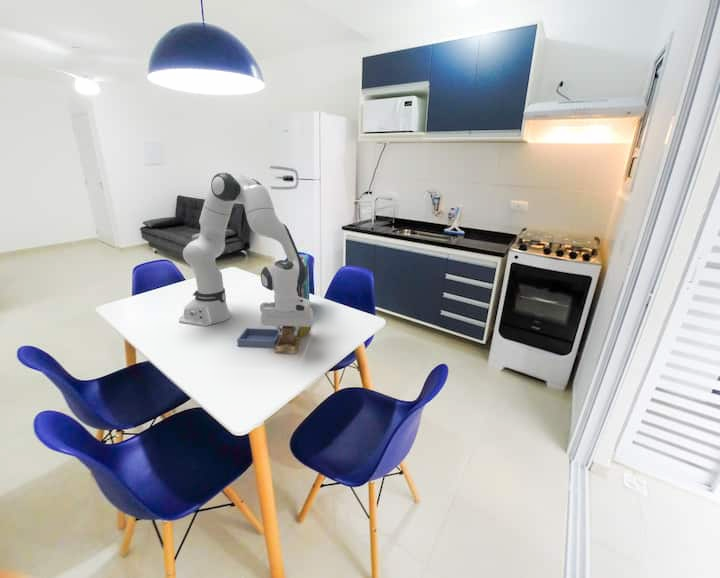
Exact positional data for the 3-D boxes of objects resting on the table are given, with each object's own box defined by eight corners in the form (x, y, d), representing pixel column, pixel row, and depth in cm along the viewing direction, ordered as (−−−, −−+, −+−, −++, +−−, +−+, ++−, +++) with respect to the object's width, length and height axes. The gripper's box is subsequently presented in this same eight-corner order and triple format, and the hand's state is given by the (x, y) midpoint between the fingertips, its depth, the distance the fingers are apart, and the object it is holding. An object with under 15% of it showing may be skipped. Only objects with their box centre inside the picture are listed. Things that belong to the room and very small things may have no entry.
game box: (297, 303, 178) (295, 254, 169) (309, 303, 179) (308, 254, 169) (294, 319, 159) (291, 265, 149) (307, 319, 159) (305, 265, 150)
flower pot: (313, 334, 146) (313, 315, 142) (300, 342, 139) (299, 323, 135) (298, 329, 150) (298, 311, 147) (285, 336, 143) (284, 317, 140)
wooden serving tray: (275, 354, 129) (275, 346, 128) (281, 343, 137) (280, 336, 136) (296, 355, 129) (296, 347, 128) (300, 344, 137) (300, 337, 136)
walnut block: (282, 341, 130) (281, 328, 128) (284, 336, 134) (284, 323, 131) (292, 342, 130) (291, 328, 128) (294, 337, 134) (294, 324, 131)
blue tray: (237, 347, 133) (237, 339, 132) (247, 335, 143) (246, 328, 142) (275, 348, 133) (274, 341, 132) (281, 336, 143) (281, 329, 141)
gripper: (256, 305, 123) (260, 337, 128) (311, 307, 123) (312, 339, 128) (262, 298, 129) (264, 330, 134) (314, 300, 129) (314, 332, 134)
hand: (288, 335), depth 131 cm, fingers closed on walnut block, 4 cm apart
